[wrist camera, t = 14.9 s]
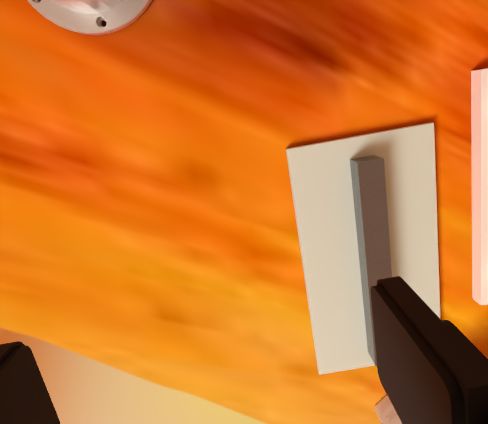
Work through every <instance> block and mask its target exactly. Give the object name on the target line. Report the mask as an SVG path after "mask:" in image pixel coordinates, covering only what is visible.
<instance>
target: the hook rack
mask: <svg viewBox="0 0 488 424" xmlns="http://www.w3.org/2000/svg"><path fill="white" fill-rule="evenodd" d="M471 129H472V298H473V299H474V300H475V301H476V302H477V303H479V304H480V305H486V304H488V68H484V69H479V70H474V71H471Z"/></svg>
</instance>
